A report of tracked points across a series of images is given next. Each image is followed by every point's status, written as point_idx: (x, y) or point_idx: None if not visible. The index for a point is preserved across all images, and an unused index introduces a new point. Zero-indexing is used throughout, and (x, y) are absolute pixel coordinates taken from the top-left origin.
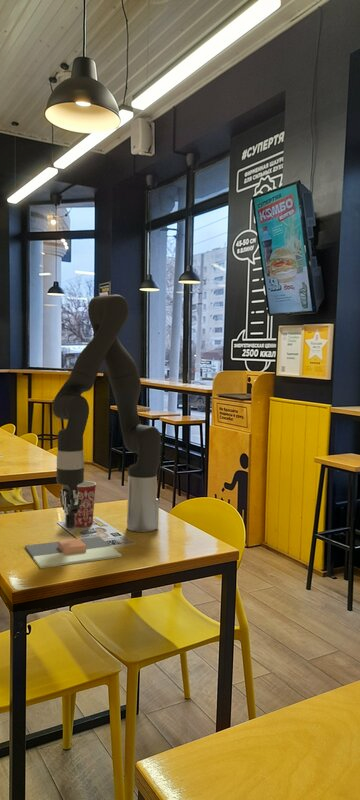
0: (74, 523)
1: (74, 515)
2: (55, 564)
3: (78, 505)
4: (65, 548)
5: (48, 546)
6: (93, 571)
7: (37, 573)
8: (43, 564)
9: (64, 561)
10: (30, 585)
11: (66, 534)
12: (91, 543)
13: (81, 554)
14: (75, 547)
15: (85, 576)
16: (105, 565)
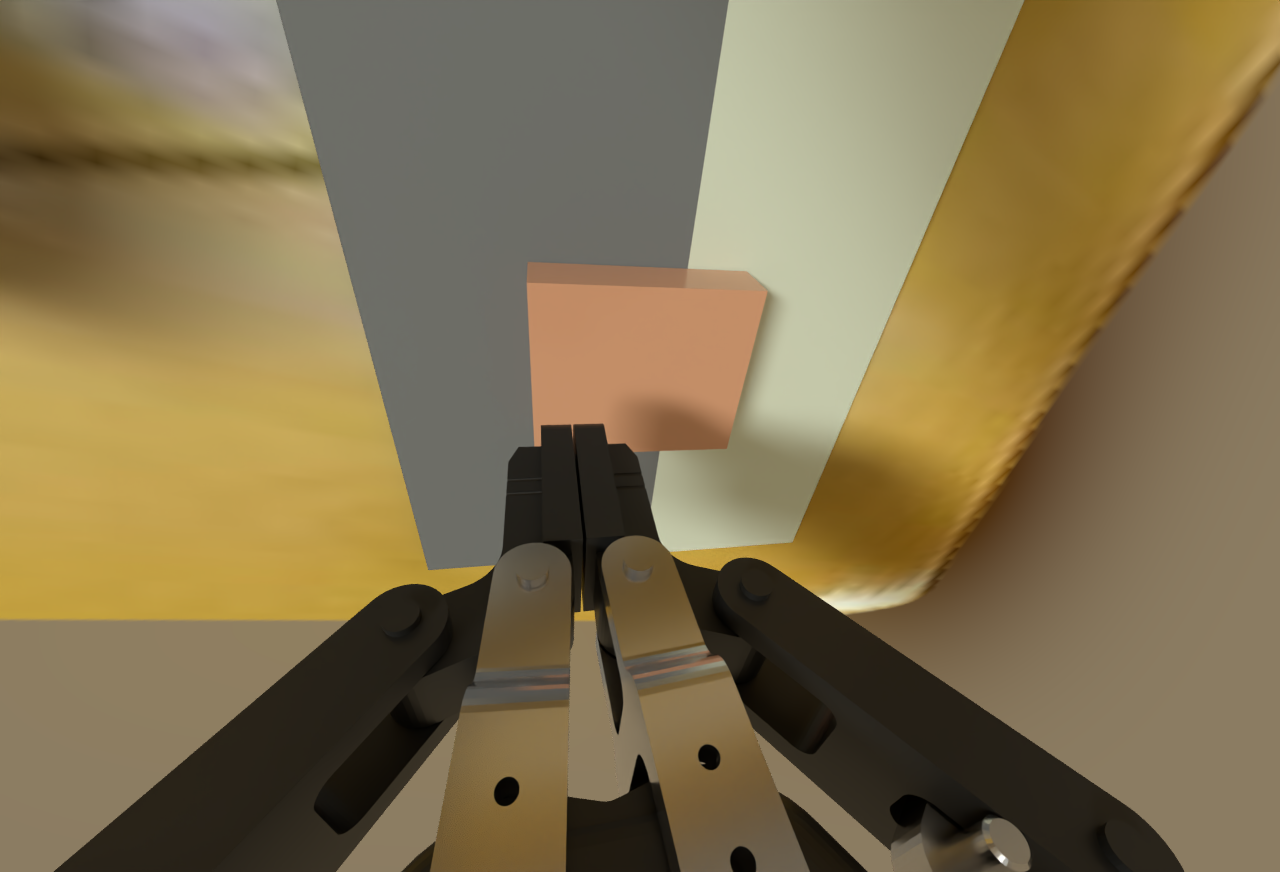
0: (607, 444)
1: (620, 523)
2: (814, 486)
3: (976, 724)
4: (727, 442)
5: (493, 470)
6: (1023, 336)
7: (830, 546)
8: (783, 530)
9: (815, 446)
10: (912, 573)
11: (3, 220)
12: (540, 114)
13: (775, 323)
14: (742, 376)
15: (1031, 394)
16: (1025, 227)
